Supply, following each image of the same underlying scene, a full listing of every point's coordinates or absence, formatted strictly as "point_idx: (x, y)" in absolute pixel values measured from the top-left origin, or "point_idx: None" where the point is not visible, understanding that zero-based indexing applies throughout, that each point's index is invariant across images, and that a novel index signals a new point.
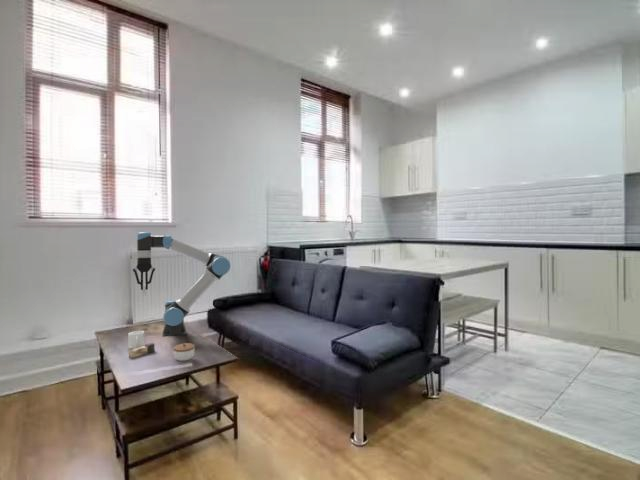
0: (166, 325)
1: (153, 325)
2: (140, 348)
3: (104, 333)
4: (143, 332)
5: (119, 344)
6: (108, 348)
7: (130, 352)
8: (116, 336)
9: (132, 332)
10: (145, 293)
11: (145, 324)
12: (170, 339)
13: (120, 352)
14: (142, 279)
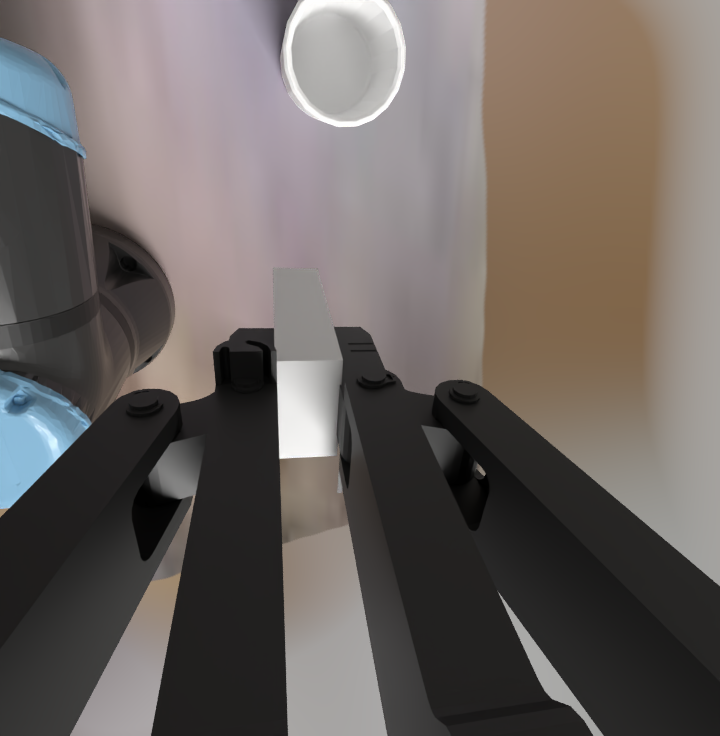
0: (122, 301)
1: None
2: None
3: None
4: (285, 32)
5: (418, 229)
6: (478, 174)
7: None
8: (421, 387)
9: (371, 109)
10: (275, 278)
11: (283, 535)
12: (105, 189)
13: (425, 34)
14: (384, 471)
